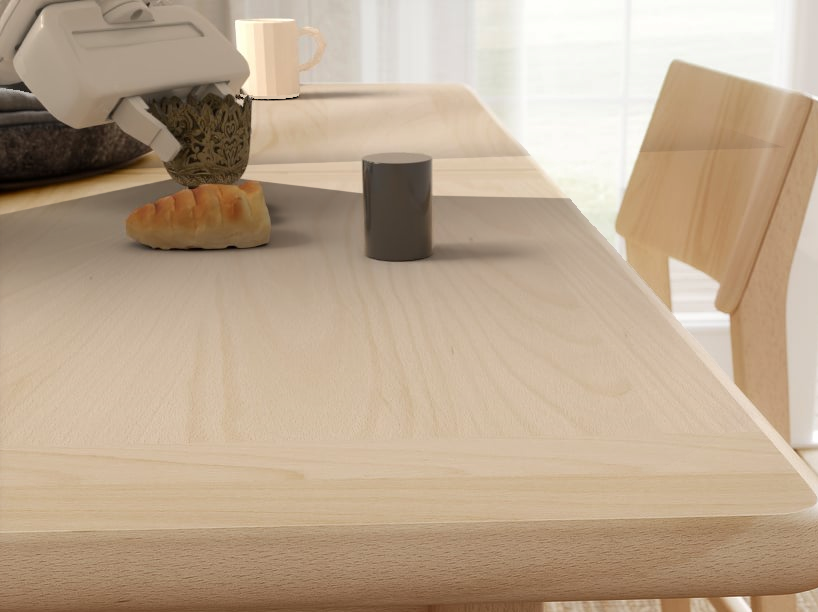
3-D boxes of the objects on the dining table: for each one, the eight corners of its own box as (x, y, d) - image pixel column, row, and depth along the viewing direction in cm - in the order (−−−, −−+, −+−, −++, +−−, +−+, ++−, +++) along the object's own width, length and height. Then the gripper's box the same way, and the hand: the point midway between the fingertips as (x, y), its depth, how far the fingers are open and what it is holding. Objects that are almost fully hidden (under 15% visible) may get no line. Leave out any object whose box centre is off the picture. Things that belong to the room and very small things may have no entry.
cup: (140, 207, 89) (128, 97, 86) (219, 193, 94) (210, 90, 91) (199, 220, 84) (189, 105, 81) (278, 205, 89) (272, 96, 86)
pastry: (131, 257, 74) (125, 196, 72) (123, 236, 80) (117, 179, 78) (278, 246, 77) (275, 187, 75) (260, 226, 83) (257, 171, 81)
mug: (331, 98, 157) (329, 20, 153) (241, 100, 155) (236, 21, 151) (325, 92, 164) (322, 18, 160) (239, 94, 162) (234, 18, 158)
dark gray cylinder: (358, 260, 73) (355, 162, 71) (370, 244, 77) (368, 151, 75) (428, 261, 73) (427, 164, 71) (436, 246, 77) (436, 152, 75)
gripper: (156, 29, 98) (264, 155, 98) (-29, 45, 80) (101, 198, 80) (196, -29, 94) (307, 102, 94) (10, -25, 77) (147, 135, 77)
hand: (211, 147), depth 87 cm, fingers closed on cup, 7 cm apart
